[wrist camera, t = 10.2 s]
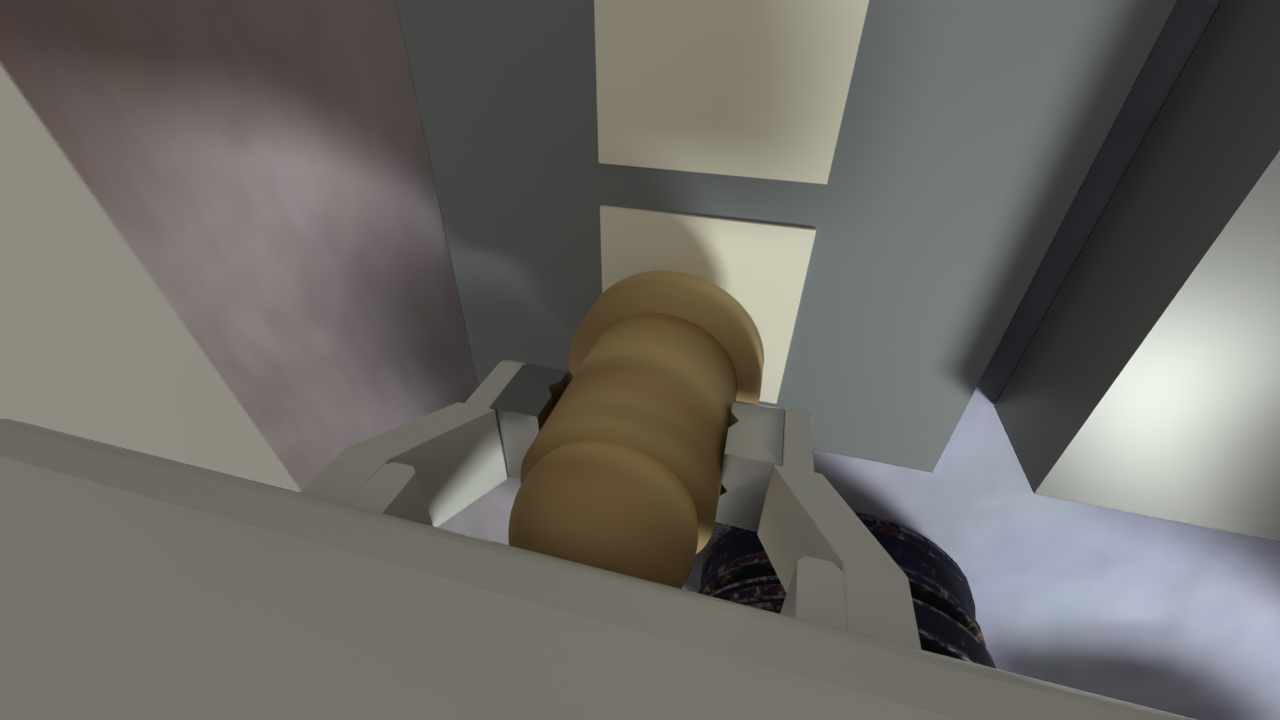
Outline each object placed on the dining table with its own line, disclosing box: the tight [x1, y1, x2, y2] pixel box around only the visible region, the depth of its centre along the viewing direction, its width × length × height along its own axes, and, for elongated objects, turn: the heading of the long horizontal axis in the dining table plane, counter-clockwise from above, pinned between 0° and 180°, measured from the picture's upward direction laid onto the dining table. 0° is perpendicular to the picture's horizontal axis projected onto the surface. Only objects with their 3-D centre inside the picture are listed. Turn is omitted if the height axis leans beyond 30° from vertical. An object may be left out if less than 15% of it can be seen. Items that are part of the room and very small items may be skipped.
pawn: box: [509, 271, 764, 589], centre depth 10 cm, size 4×4×7 cm
